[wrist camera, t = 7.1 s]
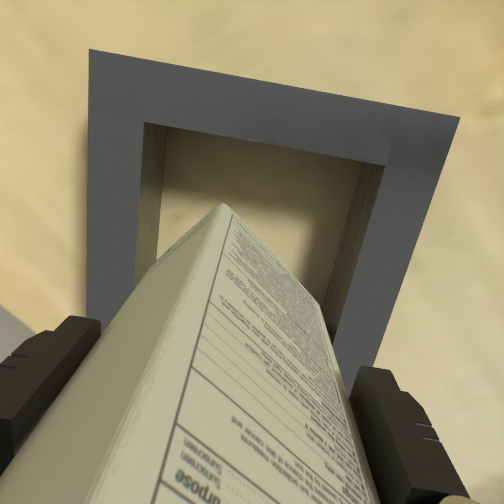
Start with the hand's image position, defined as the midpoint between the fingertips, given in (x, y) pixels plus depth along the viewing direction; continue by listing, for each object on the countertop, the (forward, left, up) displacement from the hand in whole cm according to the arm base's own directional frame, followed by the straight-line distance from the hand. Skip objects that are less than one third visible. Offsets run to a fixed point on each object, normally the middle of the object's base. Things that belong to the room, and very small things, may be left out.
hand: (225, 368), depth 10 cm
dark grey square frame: (0, 0, -13) cm, 13 cm away
